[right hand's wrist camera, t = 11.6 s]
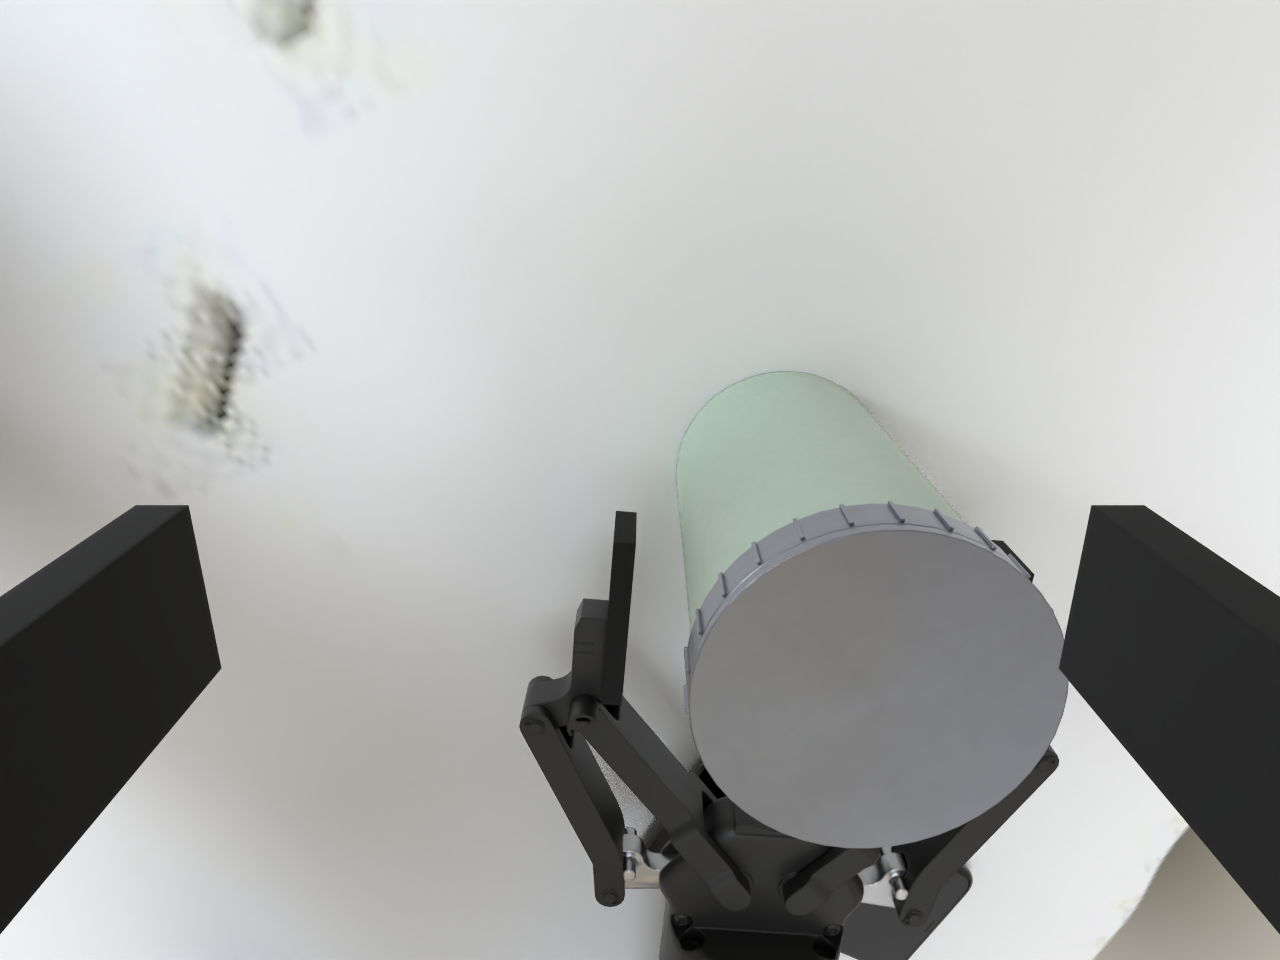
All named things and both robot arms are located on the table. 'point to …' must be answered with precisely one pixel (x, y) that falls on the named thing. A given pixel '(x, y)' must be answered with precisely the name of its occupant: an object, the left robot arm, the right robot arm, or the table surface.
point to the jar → (781, 468)
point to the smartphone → (862, 905)
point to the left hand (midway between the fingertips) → (817, 540)
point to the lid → (873, 676)
